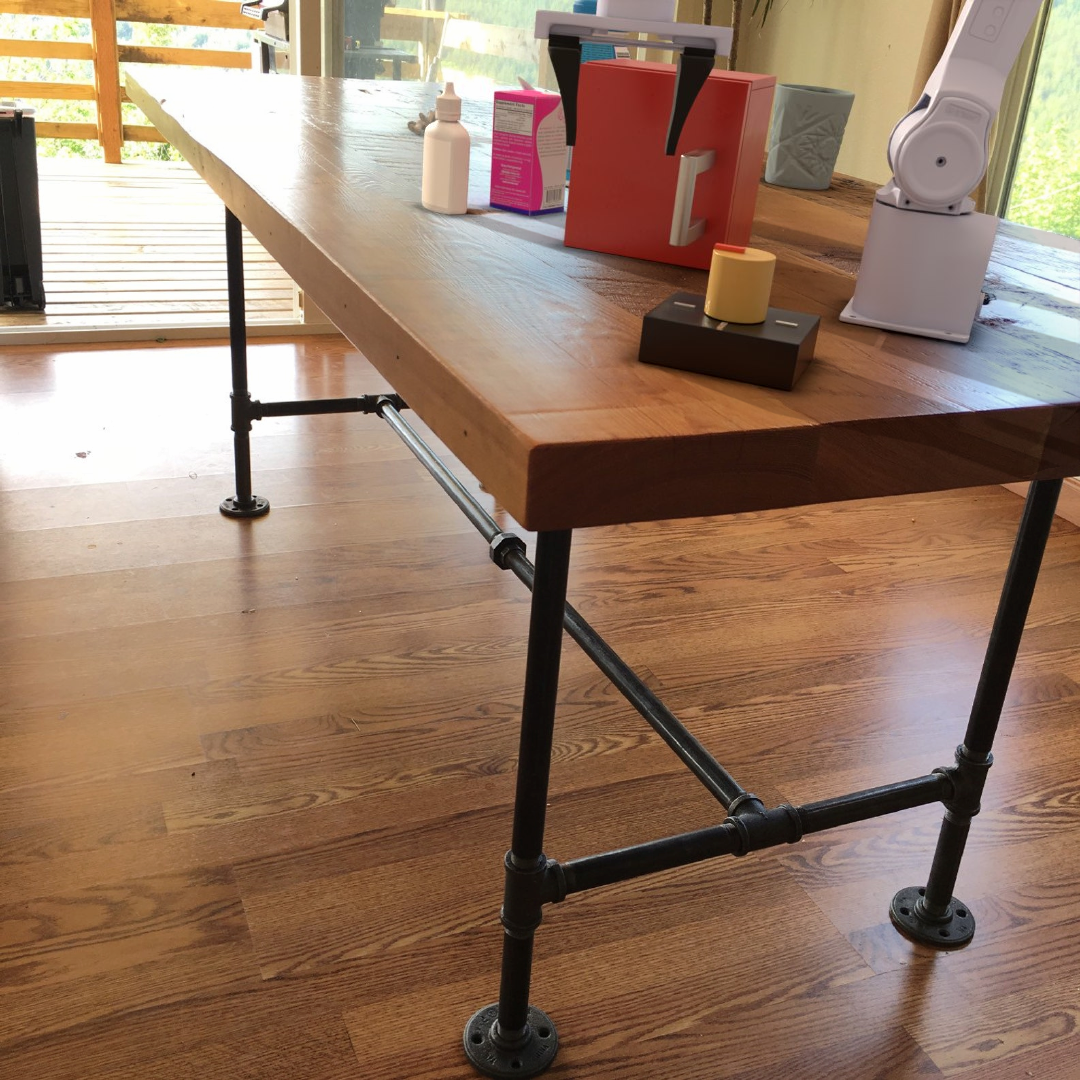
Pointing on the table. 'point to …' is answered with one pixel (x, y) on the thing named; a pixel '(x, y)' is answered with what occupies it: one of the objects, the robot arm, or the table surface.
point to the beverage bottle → (596, 53)
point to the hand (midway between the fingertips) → (620, 149)
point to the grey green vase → (806, 135)
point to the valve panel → (729, 342)
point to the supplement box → (528, 152)
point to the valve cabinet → (751, 141)
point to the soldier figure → (423, 121)
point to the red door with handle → (653, 166)
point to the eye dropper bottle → (446, 158)
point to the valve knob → (739, 284)
